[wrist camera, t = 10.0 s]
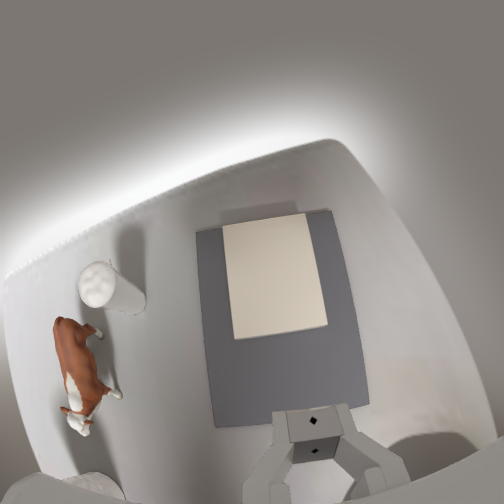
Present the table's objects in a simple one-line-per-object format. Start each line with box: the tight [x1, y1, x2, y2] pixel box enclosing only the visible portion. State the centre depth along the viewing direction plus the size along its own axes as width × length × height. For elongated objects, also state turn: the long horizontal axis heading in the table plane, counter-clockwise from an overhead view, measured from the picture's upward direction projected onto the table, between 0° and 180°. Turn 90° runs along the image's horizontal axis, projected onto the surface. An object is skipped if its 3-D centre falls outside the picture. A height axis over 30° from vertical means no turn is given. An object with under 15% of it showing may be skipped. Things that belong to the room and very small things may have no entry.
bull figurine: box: [53, 317, 122, 437], centre depth 25 cm, size 4×13×8 cm, turn 18°
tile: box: [222, 213, 328, 340], centre depth 30 cm, size 2×9×12 cm
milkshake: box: [78, 259, 146, 315], centre depth 27 cm, size 4×5×10 cm
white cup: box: [61, 472, 125, 500], centre depth 18 cm, size 8×8×10 cm
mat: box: [196, 211, 370, 428], centre depth 29 cm, size 22×16×1 cm
